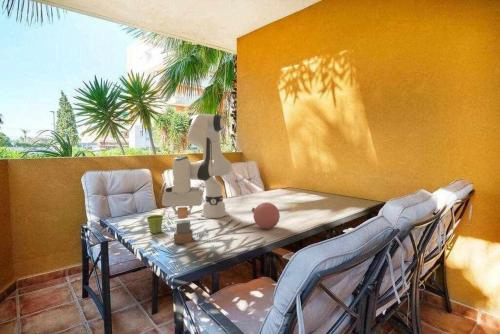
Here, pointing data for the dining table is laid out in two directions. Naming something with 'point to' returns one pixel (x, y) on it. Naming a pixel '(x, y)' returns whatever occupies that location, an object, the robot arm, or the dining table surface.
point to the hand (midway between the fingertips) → (182, 214)
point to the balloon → (266, 215)
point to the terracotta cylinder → (182, 212)
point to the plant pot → (155, 223)
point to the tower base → (183, 237)
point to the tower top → (183, 227)
